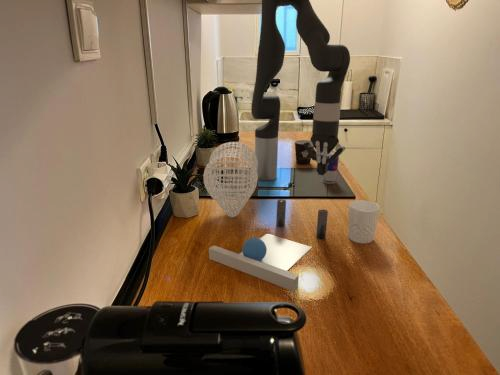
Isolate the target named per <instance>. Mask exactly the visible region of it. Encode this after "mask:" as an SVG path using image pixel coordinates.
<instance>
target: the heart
mask: <svg viewBox="0 0 500 375" xmlns="http://www.w3.org/2000/svg"><path fill="white" fill-rule="evenodd" d="M254 155H255V156H254ZM254 158H255V159H254ZM232 159H233V160H232ZM236 159H237V160H236ZM253 160H254V161H253ZM231 164H233V166H231ZM236 164H237V166H236ZM240 164H241V166H240ZM255 165H256V166H255ZM257 168H258V161H257V156H256V154H255V150H253V148H251V147H250V146H248V145H246V143H243V142H239V141H238V142H237V141H229V142H225V143H222V144H220V145H218V146H217V147H216V148H215V149H214V150H213V151H212V153H211V154H210V156H209V162H208V163H207V164H206V166H205V167H204V172H203V176H202V177H203V184H204V187H205V189H206V191H207V193H208V194H209V195H210V196H209V197H211V198H212V199H213V201H215V202H216V203H217V204H218V206H219V207H220V209H221V210H222V211H223V213H224V214H225V215H226V216H228V217H229V218H235V217H237V216H238V215H239V214H240V212H241V211H242V209H243V208H244V207H245V205H246V203H247V202H248V200H249V199H250V198H251V197H252V196H253V193H254V192H255V190H256V188H257V184H258V174H257ZM232 170H233V172H232ZM236 170H237V173H236ZM240 170H241V173H240ZM222 171H223V173H222ZM246 171H247V174H246ZM222 177H223V178H222ZM225 177H226V178H225ZM236 178H237V179H236ZM221 186H222V187H221ZM225 186H226V187H225ZM245 186H246V187H245ZM235 187H236V188H235Z"/></svg>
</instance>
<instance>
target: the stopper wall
mask: <svg viewBox="0 0 500 375" xmlns="http://www.w3.org/2000/svg"><path fill="white" fill-rule="evenodd" d="M208 259H209V260H212V261H214V262H217V263H219V264H222V265H225V266H227V267H229V268H232V269H235V270H237V271H240V272H242V273H245V274H248V275H250V276H253V277H255V278H258V279H261V280H263V281H265V282H269V283H271V284H274V285H276V286H279V287H281V288H284V289H286V290H289V291H291V292H295V291H296V290H297V289H298V287H299V277H300V276H299V275H298V274H295V273H292V272H289V271H285V270H282V269H279V268H276V267H273V266H271V265H268V264H265V263H262V262H259V261H257V260H254V259H251V258H248V257H246V256H243V255H240V253H238V252H234V251H231V250H228V249H226V248H223V247H220V246H217V245H212V246H210V247H208Z"/></svg>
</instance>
